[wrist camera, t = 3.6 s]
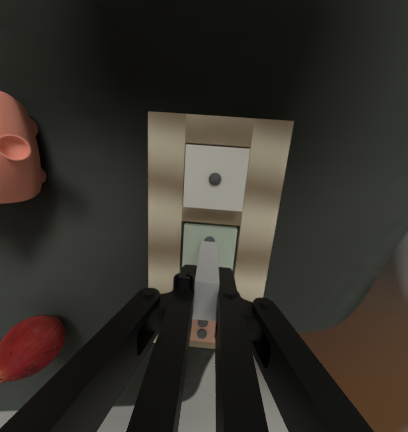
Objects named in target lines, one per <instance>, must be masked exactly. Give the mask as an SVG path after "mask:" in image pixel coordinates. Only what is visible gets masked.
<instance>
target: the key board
mask: <svg viewBox="0 0 408 432" xmlns="http://www.w3.org/2000/svg"><path fill="white" fill-rule="evenodd" d="M293 125H294V121H285V120H270V119H255V118H240V117H225V116H210V115H195V114H181V113H166V112H151V111H148V288H155V289H157V290H158V291H159V292H160V294H163V293H168V292H171V291H173V278H174V276H175V275H176V274H178V273H180V272H181V269H182V259H183V238H184V224H185V222H186V221H189V222H201V223H213V224H225V225H236V227H237V229H238V230H237V239H236V247H235V255H234V263H233V273H234V278H235V283H236V288H237V291H238V292H239V294H240V296H241V297H242V298H243V299H245V300H248V301H251V302H253V301H254V299H256V298H259V297H260V298H263V295H264V289H265V284H266V278H267V272H268V267H269V261H270V255H271V250H272V244H273V238H274V233H275V227H276V221H277V216H278V210H279V204H280V199H281V193H282V187H283V182H284V176H285V170H286V165H287V159H288V153H289V148H290V142H291V136H292V130H293ZM186 144H190V145H204V146H218V147H232V148H246V149H250V154H249V162H248V170H247V178H246V186H245V193H244V201H243V209H242V212H241V211H228V210H216V209H204V208H191V207H183V196H184V174H185V152H186ZM157 336H158V335H157ZM156 339H157V337H156V338H155V340H154V341H153V343H156ZM189 346H191V347H201V348H211V349H215V343H209V342H200V341H190V343H189ZM252 353H253V352H252Z"/></svg>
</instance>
